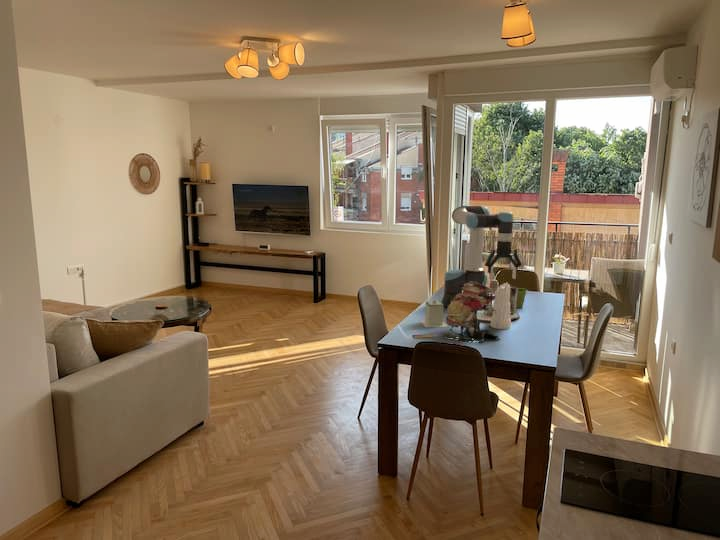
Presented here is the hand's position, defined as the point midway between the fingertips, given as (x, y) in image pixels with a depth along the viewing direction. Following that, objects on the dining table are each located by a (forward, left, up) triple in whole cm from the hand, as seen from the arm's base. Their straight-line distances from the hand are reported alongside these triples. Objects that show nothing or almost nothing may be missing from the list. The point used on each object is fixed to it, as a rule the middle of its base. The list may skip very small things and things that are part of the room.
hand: (502, 278), depth 291 cm
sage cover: (-7, -36, -27) cm, 45 cm away
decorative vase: (-1, +1, -28) cm, 28 cm away
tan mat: (+8, -47, -28) cm, 55 cm away
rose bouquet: (+16, -24, -28) cm, 40 cm away
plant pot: (-43, +29, -28) cm, 59 cm away
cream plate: (-7, -36, -28) cm, 46 cm away
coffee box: (-31, +18, -28) cm, 45 cm away
